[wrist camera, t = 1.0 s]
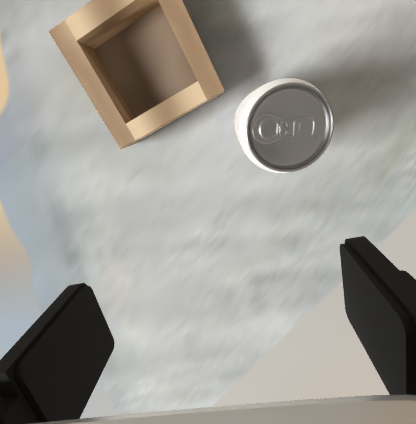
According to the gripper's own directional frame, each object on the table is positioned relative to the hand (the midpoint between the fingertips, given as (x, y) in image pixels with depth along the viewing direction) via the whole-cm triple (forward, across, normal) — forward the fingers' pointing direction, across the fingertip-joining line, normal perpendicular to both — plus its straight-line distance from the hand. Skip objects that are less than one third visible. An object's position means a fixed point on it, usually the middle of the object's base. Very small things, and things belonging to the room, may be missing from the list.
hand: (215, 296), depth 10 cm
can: (+23, -5, -4) cm, 24 cm away
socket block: (+22, +5, -12) cm, 26 cm away
